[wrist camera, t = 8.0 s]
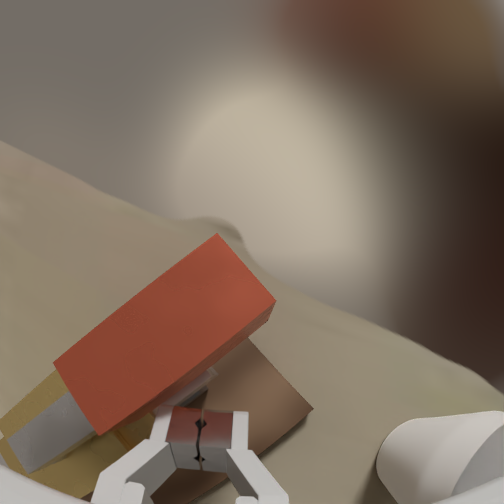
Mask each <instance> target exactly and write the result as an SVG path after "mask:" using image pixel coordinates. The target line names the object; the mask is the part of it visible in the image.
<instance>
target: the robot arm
mask: <svg viewBox="0 0 504 504" xmlns="http://www.w3.org/2000/svg"><path fill="white" fill-rule="evenodd" d="M248 420H249V414H248V412H242V411H234V413H233V411H228V410H211V409H205V411H204V413H203V409H195V408H187V407H180V406H173V405H166V404H160V406H159V407H158V410H157V414H156V417H155V421H154V424H153V428H152V431H151V435H150V438H149V439H144V440H143V441H142V442H141V443H139V444H138V445H137V446H136V447H134V448H133V449H132V450H130V451H129V452H128V453H126V454H125V455H124V456H122V457H121V458H120V459H118V460H117V461H116V462H114V463H113V464H112V465H110V466H109V467H108V468H106V469H105V470H104V471H102V472H101V473H100V475H99V478H98V481H97V484H96V487H95V490H94V493H93V496H92V499H91V502H88V501H85V500H82V499H79V498H76V497H73V496H70V495H68V494H65V493H63V492H60V491H57V490H55V489H52V488H50V487H48V486H45V485H43V484H41V483H38V482H36V481H34V480H32V479H30V478H28V477H25V476H23V475H21V474H19V473H17V472H15V471H13V470H11V469H9V468H7V467H6V466H4V465H2V464H0V504H154V503H153V501H152V499H151V498H150V496H151V495H152V494H153V493H154V492H155V491H156V490H157V489H158V488H159V487H160V486H161V485H162V484H163V483H164V482H165V481H166V479H167V478H168V477H169V476H170V475H171V474H172V473H173V472H174V471H175V470H176V468H184V469H194V470H200V467H201V460H202V468H203V470H204V471H213V472H223V473H227V475H228V477H229V479H230V480H231V482H232V483H233V485H234V487H235V488H236V490H237V491H238V493H239V495H240V497H238V498H237V499H236V504H289V497H288V495H287V493H286V492H285V491H284V490H283V489H282V487H281V486H280V485H279V484H278V483H277V481H276V480H275V479H274V478H273V476H272V475H271V474H270V473H269V471H268V470H267V469H266V468H265V466H264V465H263V464H262V462H261V461H260V460H259V459H258V457H257V456H256V455H255V453H254V452H253V451H252V450H248ZM431 504H504V476H500V477H497V478H495V479H493V480H490V481H488V482H486V483H484V484H482V485H479V486H477V487H475V488H472V489H470V490H467V491H465V492H462V493H460V494H457V495H454V496H452V497H449V498H446V499H443V500H440V501H437V502H434V503H431Z"/></svg>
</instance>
